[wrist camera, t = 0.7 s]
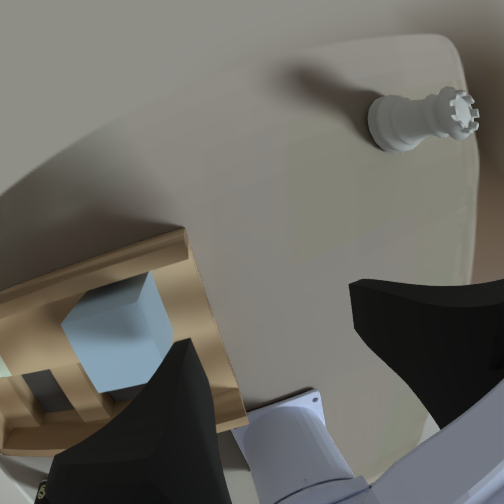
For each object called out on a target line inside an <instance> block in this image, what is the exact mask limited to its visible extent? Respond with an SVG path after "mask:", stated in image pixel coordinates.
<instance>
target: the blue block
mask: <svg viewBox="0 0 504 504" xmlns="http://www.w3.org/2000/svg"><path fill="white" fill-rule="evenodd" d="M61 326H62V328H63V330H64V332H65V334H66V336H67V338H68V340H69V342H70V344H71V346H72V348H73V350H74V352H75V353H76V355H77V357H78V359H79V361H80V363H81V364H82V366H83V368H84V370H85V371H86V373H87V375H88V377H89V378H90V380H91V382H92V383H93V385H94V386H95V388H96V390H97V391H98V393H102V392H107V391H112V390H117V389H122V388H126V387H131V386H135V385H140V384H144V383H147V382H148V381H149V380H150V378H151V377H152V376H153V374H154V373H155V372H156V370H157V369H158V367H159V365H160V364H161V362H162V361H163V359H164V358H165V356H166V354H167V353H168V351H169V350H170V348H171V346H172V342H173V328H172V325H171V323H170V320H169V318H168V315H167V313H166V310H165V308H164V305H163V302H162V300H161V297H160V295H159V292H158V289H157V287H156V284H155V281H154V278H153V276H152V273H151V271H148V272H145V273H142V274H139V275H136V276H132V277H129V278H126V279H123V280H120V281H117V282H113V283H110V284H107V285H104V286H101V287H98V288H94V289H91V290H88V291H87V292H86V293H85V294H84V296H83V297H82V298H81V299H80V300H79V302H78V303H77V304H76V305H75V307H74V308H73V309H72V310H71V312H70V313H69V314H68V315H67V317H66V318H65V319H64V320H63V322H62V323H61Z"/></svg>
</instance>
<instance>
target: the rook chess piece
mask: <svg viewBox="0 0 504 504" xmlns="http://www.w3.org/2000/svg"><path fill="white" fill-rule="evenodd" d="M473 103H474V100H473V98H472V97H471V95H467V96H466V94H465V91H463V90H458V91H457V90H456V89H454V88H453V87H447V86H446V87H445V88H443V89H441V91H440V93H439V95H435V94H431V95H429V96H427V97H426V99H423V100H410V99H408V98H404V97H402V96H399V95H388V96H386V97H384V96H382V97H380V98H378V99H376V100H374V102H373V103H372V105H371V106H370V108H369V113H368V125H369V131H370V133H371V135H372V137H373V139H374V140H375V142H376V143H377V144H378V145H379V146H380V147H381V148H382V149H383V150H385V151H387V152H390V153H392V154H395V153H402V152H408V151H410V150H412V149H413V148H414V147H416V146H417V145H418V143H420V142H421V141H422V139H425V138H428V137H431V136H437V137H439V138H446V137H447V136H448V135H450V136H451V137H452V138H454V139H456V140H464V139H466V138H467V137H468V136H469V134H471V133H473V131H474V130H477V129H478V126H479V124H478V123H477V122H474V118H476V117H479V113H478V109H474V110H472V108H471V105H470V104H473Z"/></svg>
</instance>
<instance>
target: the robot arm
mask: <svg viewBox="0 0 504 504" xmlns="http://www.w3.org/2000/svg"><path fill="white" fill-rule="evenodd" d="M349 291H350V298H351V306H352V314H353V322H354V329H355V330H356V332H357V333H358V334H359V336H360V337H361V338H362V340H363V341H364V342H365V343H366V345H367V346H368V347H369V348H370V349H371V350H372V351H373V352H374V353H375V354H376V355H377V356H378V357H380V358H381V359H382V360H383V361H384V362H385V363H386V364H387V365H388V366H389V367H390V368H391V369H392V370H393V371H394V372H396V373H397V374H398V375H399V376H400V377H401V378H402V379H403V380H404V381H405V382H406V383H407V385H408V386H409V387H410V388H411V389H412V391H413V392H414V393H415V394H416V396H417V397H418V398H419V399H420V401H421V402H422V403H423V405H424V406H425V408H426V409H427V410H428V412H429V413H430V414H431V416H432V417H433V419H434V420H435V422H436V423H437V425H438V426H439V428H440V429H441V430H440V431H439V432H437V433H436V434H434V435H433V436H431V437H430V438H429V439H427V440H425V441H424V442H422V443H421V444H419V445H418V446H417V447H416V448H414V449H413V450H412V451H410V452H409V453H408V454H406V455H405V456H403V457H402V458H401V459H399V460H398V461H396V462H395V463H394V464H393V465H392V466H391V467H390V468H389V469H388V470H387V471H386V472H385V473H384V474H383V475H382V476H381V477H380V478H378V479H377V480H376V481H375V482H373V483H371V484H369V485H368V484H367V482H366V480H365V479H364V477H363V476H359V477H355V476H354V474H353V473H352V471H351V469H350V468H349V466H348V464H347V463H346V461H345V459H344V458H343V456H342V455H341V453H340V451H339V450H338V448H337V446H336V445H335V443H334V441H333V440H332V438H331V436H330V435H329V433H328V431H327V430H326V426H325V420H324V415H323V409H322V403H321V397H320V393H319V391H318V390H317V389H313V390H310V391H308V392H305V393H302V394H300V395H297V396H294V397H292V398H289V399H286V400H283V401H281V402H278V403H275V404H272V405H269V406H266V407H263V408H260V409H257V410H254V411H250V412H247V413H246V414H247V417H248V420H249V424H248V425H245V426H241V427H238V428H234V429H231V432H232V434H233V436H234V438H235V440H236V442H237V444H238V446H239V448H240V450H241V452H242V454H243V455H244V457H245V459H246V461H247V463H248V465H249V467H250V471H251V474H252V478H253V481H254V485H255V488H256V491H257V495H258V498H259V501H260V504H504V279H501V280H497V281H492V282H487V283H481V284H473V285H463V286H427V285H415V284H406V283H398V282H390V281H383V280H374V279H361V280H358V281H356V282H353V283H350V284H349ZM314 398H315V399H314ZM44 491H45V496H46V497H47V499H48V500H49V502H50V503H51V504H232V502H231V499H230V495H229V492H228V488H227V485H226V481H225V477H224V473H223V469H222V465H221V461H220V456H219V450H218V442H217V432H216V422H215V411H214V402H213V397H212V393H211V388H210V384H209V380H208V378H207V376H206V373H205V371H204V369H203V366H202V364H201V362H200V359H199V357H198V354H197V352H196V350H195V347H194V345H193V342H192V340H191V337H190V338H186V339H183V340H179V341H176V342H174V343H173V345H172V346H171V348H170V350H169V351H168V353H167V354H166V356H165V358H164V359H163V361H162V362H161V364H160V365H159V367H158V369H157V370H156V372H155V373H154V374H153V376H152V377H151V378H150V380H149V381H148V382H147V384H146V385H145V387H144V388H143V389H142V390H141V392H140V393H139V394H138V395H137V396H136V397H135V398H134V399H133V401H132V402H131V403H130V404H129V405H128V406H127V407H126V408H125V409H124V410H123V411H121V412H120V413H119V414H118V415H117V416H116V417H115V418H113V419H112V420H111V421H110V422H109V423H108V424H106V425H105V426H104V427H102V428H101V429H100V430H98V431H97V432H95V433H94V434H92V435H91V436H89V437H88V438H86V439H85V440H83V441H81V442H80V443H78V444H76V445H74V446H72V447H70V448H68V449H66V450H64V451H62V452H61V453H58V454H56V455H55V456H54V459H53V462H52V465H51V468H50V472H49V475H48V478H47V482H46V485H45V488H44Z"/></svg>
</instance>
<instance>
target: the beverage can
mask: <svg viewBox="0 0 504 504" xmlns="http://www.w3.org/2000/svg"><path fill="white" fill-rule="evenodd" d="M46 482H47V480H42V481H41V482H40V485H39V489H38V492H37V495H36V499H35V502H34V504H51V503H50V502H49V500H48V499H47V497H46V496H45V491H44V488H45V485H46Z"/></svg>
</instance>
